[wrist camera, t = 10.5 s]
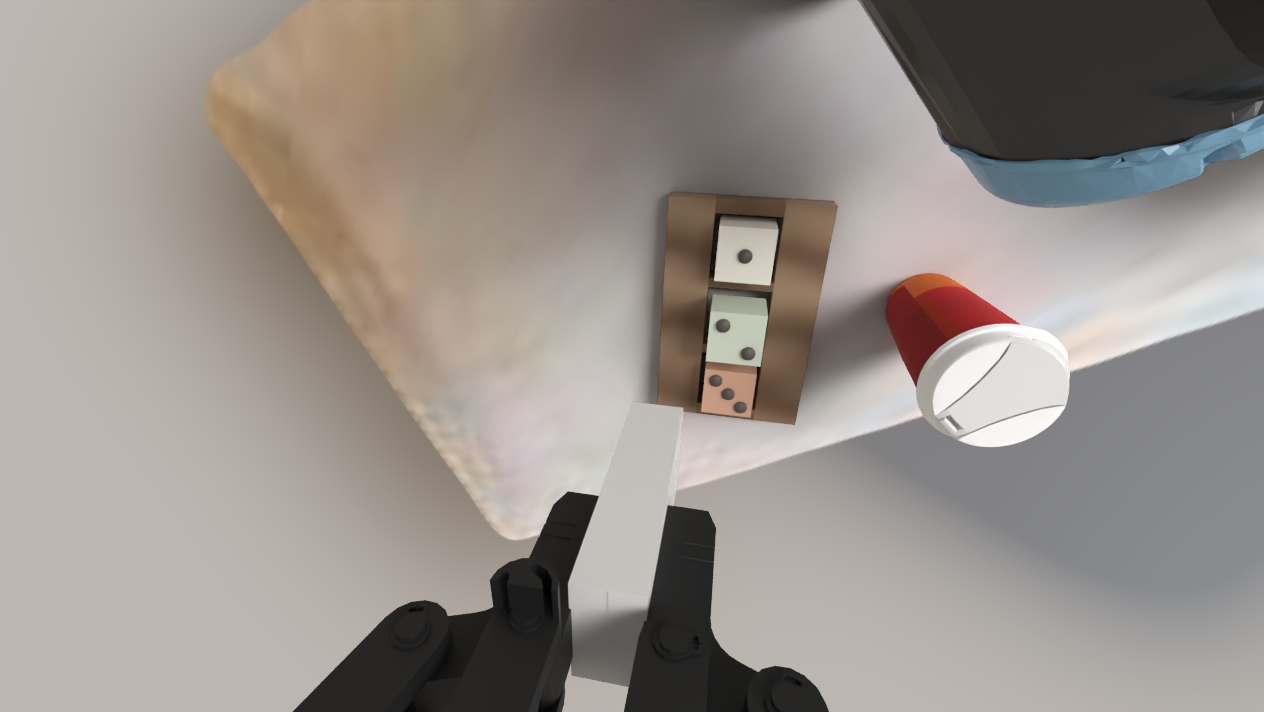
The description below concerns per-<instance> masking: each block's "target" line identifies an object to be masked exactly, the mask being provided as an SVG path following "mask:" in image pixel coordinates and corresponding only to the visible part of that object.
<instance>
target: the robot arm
mask: <svg viewBox="0 0 1264 712" xmlns="http://www.w3.org/2000/svg"><path fill="white" fill-rule="evenodd" d="M858 1H859V2H860V4H861V5H862V7H863V8H864V10H865V12H866V13H867V15H868V16H869V18H870V20H871V21H872V23H873V24H874V26H875V27H876V29H877V31H878V32H879V34H880V35H881V37H882V39H883V40H884V42H885V43H886V45H887V46H888V48H889V50H890V51H891V53H892V54H893V56H894V57H895V59H896V61H897V62H898V64H899V65H900V67H901V69H902V70H903V72H904V73H905V75H906V76H907V78H908V80H909V81H910V83H911V84H912V86H913V87H914V89H915V91H916V92H917V94H918V95H919V97H920V99H921V100H922V102H923V103H924V105H925V106H926V108H927V110H928V111H929V113H930V114H931V116H932V118H933V119H934V121H935V122H936V124H937V129H938V133H939V135H940V137H941V139H942V141H943V142H944V144H946V145H948V147H949V149H950V151H952V152H953V153H955V154H956V155H958V156H959V157H961V159H962V160H963V161H964V163H965V164H966V165H967V167H968V168H969V170H970V171H971V172H972V174H973V175H974V177H975V178H976V179H977V181H978V182H979V183H980V184H981V185H982V186H983V187H984V188H985V189H986V190H987V191H989V192H990V193H992V194H993V195H995V196H996V197H998V198H1000V199H1003V200H1005V201H1008V202H1011V203H1015V204H1019V205H1025V206H1031V207H1044V208H1060V207H1075V206H1085V205H1093V204H1100V203H1106V202H1111V201H1117V200H1121V199H1126V198H1130V197H1134V196H1138V195H1142V194H1146V193H1150V192H1153V191H1157V190H1160V189H1164V188H1167V187H1170V186H1173V185H1176V184H1179V183H1182V182H1185V181H1187V180H1190V179H1193V178H1196V177H1199V176H1200V175H1201V174H1202V172H1203V171H1204V167H1205V166H1206V165H1208V164H1209V163H1213V162H1217V161H1222V160H1237V159H1243V158H1245V157H1247V156H1249V155H1251V154H1253V153H1255V152H1257V151H1259V150H1261V149H1263V148H1264V0H858ZM682 419H683V408H681V407H673V406H664V405H656V404H648V403H639V402H632V405H631V408H630V411H629V414H628V416H627V419H626V422H625V425H624V428H623V430H622V433H621V436H620V439H619V442H618V444H617V447H616V450H615V453H614V456H613V458H612V461H611V464H610V467H609V470H608V472H607V475H606V478H605V481H604V484H603V487H602V489H601V492H600V495H599V496H595V495H588V494H581V493H575V492H567V493H566V494H565V495H564V496H563V497H561V498H560V499H559V500H558V501H557V502H556V503H555V504H554V505H553V507H552V509H551V512H550V514H549V516H548V518H547V520H546V524H545V525H544V527H543V529H542V531H541V533H540V537H539V538H538V540H537V542H536V544H535V546H534V549H533V551H532V553H531V555H530V557H529V558H522V559H518V560H515V561H511V562H509V563H507V564H506V565H504V566H503V567H501V568H500V569H498V570H497V571H496V573H495V574H494V575H493V577H492V578H491V579H490V584H491V592H492V599H493V606H494V607H492V608H490V609H488V610H486V611H481V612H477V613H470V614H462V615H454V616H447V613H446V610H445V609H443V608H442V607H441V606H440V605H439V604H438V603H435V602H430V601H426V600H424V601H416V602H410V603H408V604H406V605H403V606H401V607H399V608H397V609H396V610H394V611H393V612H392V613H391V614H389V615H388V616H387V617H385V618H384V620H382V622H380V623H379V624H378V625H377V627H376V628H375V629H374V630H373V631H372V632H371V633H370V634H369V635H368V636H367V637H366V638H365V639H364V640H363V641H362V642H361V643H360V644H359V645H358V646H357V647H356V648H355V649H354V650H353V651H352V652H351V653H350V654H349V655H348V656H347V657H346V658H345V659H344V660H343V661H342V662H341V663H340V664H339V665H338V666H337V667H336V668H335V669H334V670H333V671H332V672H331V673H330V674H329V675H328V676H327V677H326V679H324V680H323V681H322V682H321V683H320V685H318V686H317V687H316V689H315V690H314V691H313V692H312V693H311V694H310V695H309V696H308V697H307V698H306V699H305V700H304V701H303V702H302V703H301V704H300V705H299V706H298V707H297V708H296V709H295V710H294V711H293V712H562V709H563V706H564V697H565V680H566V677H567V674H568V671H569V668H570V664H571V669H572V670H571V671H572V675H573V676H578V677H582V678H587V679H592V680H597V681H602V682H607V683H612V684H617V685H621V686H627V687H629V689H628V694H627V699H626V704H625V709H624V712H829V711H828V708H827V705H826V703H825V701H824V699H823V698H822V696H821V694H820V692H819V690H818V689H817V687H816V686H815V685H814V684H813V683H812V682H811V681H810V680H808V679H807V678H806V677H805V676H804V675H802V674H800V673H798V672H796V671H794V670H793V669H791V668H785V667H778V666H773V667H769V668H765V669H762V670H761V671H759V672H757V671H755V670H753V669H751V668H749V667H747V666H746V665H744V664H742V663H740V662H738V661H737V660H735V659H734V658H732V657H731V656H729V655H728V654H727V653H726V652H725V651H724V650H723V649H722V648H721V647H720V645H719V644H718V642H717V641H716V639H715V637H714V635H713V632H712V629H711V620H710V616H711V600H712V583H713V567H714V551H715V534H716V527H715V525H714V523H713V521H712V518H711V516H710V514H709V512H708V511H703V510H697V509H690V508H684V507H676V506H673V505H674V499H675V493H676V487H677V481H678V468H679V456H680V444H681V432H682Z"/></svg>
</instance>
